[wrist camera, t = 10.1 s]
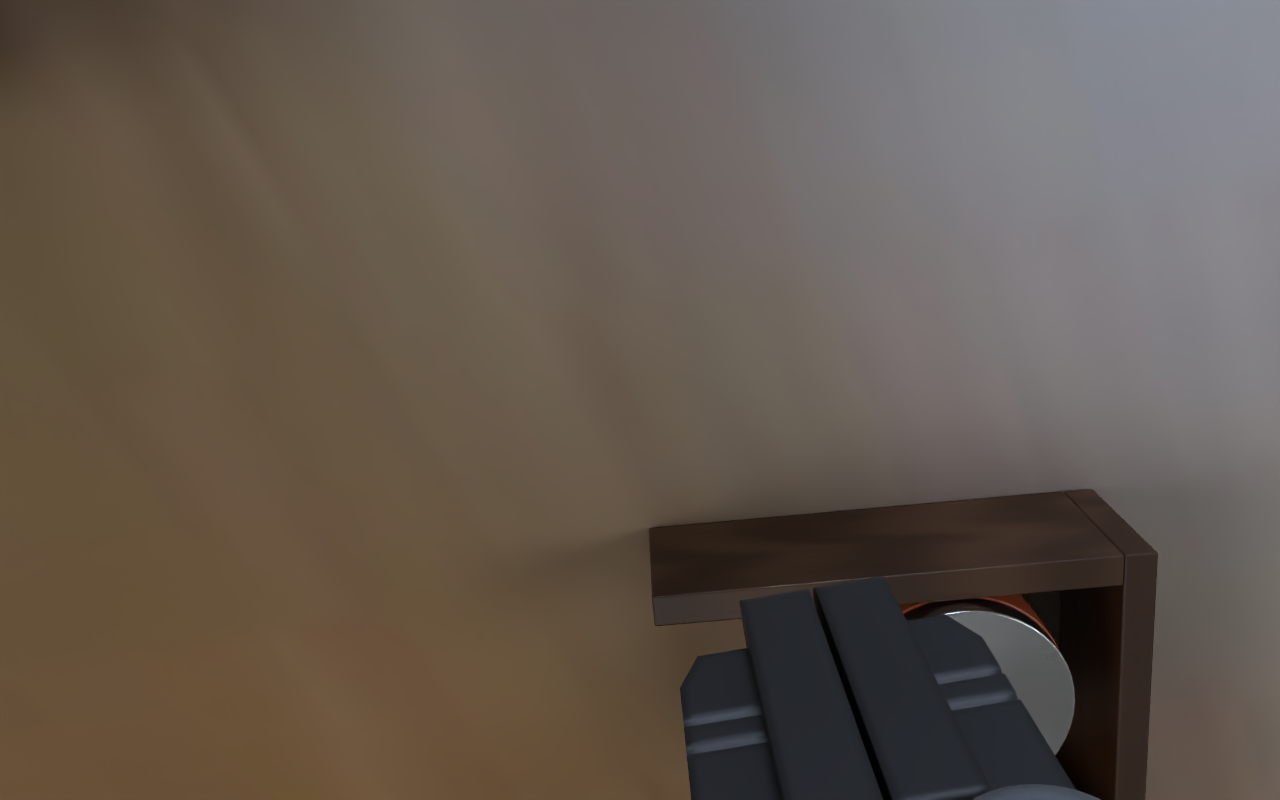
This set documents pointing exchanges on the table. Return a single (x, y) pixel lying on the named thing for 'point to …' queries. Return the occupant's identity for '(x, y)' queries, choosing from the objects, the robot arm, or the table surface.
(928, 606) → the tin can
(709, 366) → the table surface
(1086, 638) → the dark brown tray
